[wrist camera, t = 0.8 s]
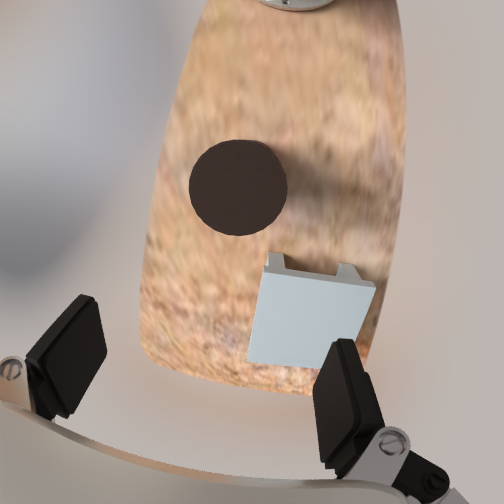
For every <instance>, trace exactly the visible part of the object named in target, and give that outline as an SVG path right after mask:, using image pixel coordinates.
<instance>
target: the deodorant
mask: <svg viewBox="0 0 504 504" xmlns="http://www.w3.org/2000/svg"><path fill="white" fill-rule="evenodd" d="M189 195H190V199H191V204H192V206H193V208H194V209H195V211H196V213H197V215H198V216H199V217H200V218H201V219H202V221H203V222H204V223H205V224H206V225H208V226H209V227H211V228H212V229H214V230H215V231H218V232H221V233H223V234H226V235H234V236H243V235H250V234H254V233H256V232H258V231H261V230H263V229H265V228H266V227H267V226H269V225H270V224H271V223H272V222H274V220H275V219H276V218H277V216H278V215H279V214H280V213H281V211H282V208H283V206H284V204H285V201H286V196H287V181H286V175H285V172H284V170H283V168H282V166H281V164H280V162H279V160H278V159H277V157H276V156H275V155H274V153H273V152H272V151H271V149H270V148H269V147H268V146H266V145H265V144H263V143H261V142H258V141H253V140H230V141H225V142H221V143H219V144H217V145H215V146H213V147H211V148H209V149H208V150H207V151H206V152H205V153H204V154H202V155H201V156H200V158H199V159H198V161H197V162H196V164H195V165H194V167H193V170H192V173H191V176H190V179H189Z"/></svg>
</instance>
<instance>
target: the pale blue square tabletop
mask: <svg viewBox="0 0 504 504" xmlns="http://www.w3.org/2000/svg"><path fill="white" fill-rule="evenodd" d="M375 290H376V286H375V285H374V283H373V282H372V281H367V280H362V279H361V277H360V275H359V274H358V272H357V271H356V269H355V267H354V266H353V264H347V263H340V262H339V266H338V269H337V273H336V276H332V275H325V274H318V273H311V272H304V271H298V270H291V269H285V263H284V256H283V253H276V252H270V251H268V256H267V261H266V266H264V268H263V273H262V278H261V284H260V289H259V295H258V300H257V305H256V311H255V316H254V321H253V327H252V332H251V337H250V342H249V348H248V353H247V361H249V362H257V363H265V364H274V365H283V366H293V367H305V368H319V369H321V368H322V365H323V363H324V361H325V358H326V356H327V353H328V351H329V349H330V346H331V344H332V342H333V341H337V339H338V338H347V339H353V340H354V342H355V340H356V338H357V336H358V333H359V331H360V329H361V326H362V324H363V321H364V319H365V316H366V314H367V311H368V309H369V306H370V304H371V301H372V298H373V296H374V293H375Z"/></svg>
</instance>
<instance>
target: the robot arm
mask: <svg viewBox="0 0 504 504" xmlns="http://www.w3.org/2000/svg"><path fill="white" fill-rule="evenodd" d="M257 1H259V2H261V3H263V4H265V5H267V6H271V7H274V8H277V9H283V10H291V11H305V10H312V9H317V8H320V7H323V6H326V5H327V4H329V3H331V2H332V1H333V0H257ZM285 4H287V5H285ZM106 355H107V347H106V343H105V338H104V333H103V329H102V324H101V319H100V314H99V309H98V303H97V302H96V301H95V299H94V298H93V297H90V296H87V295H83V294H80V295H79V296H78V297H77V298H76V299H75V300H74V301H73V302H72V303H71V304H70V306H69V307H68V308H67V309H66V310H65V311H64V312H63V313H62V314H61V315H60V316H59V317H58V318H57V320H56V321H55V322H54V323H53V324H52V325H51V326H50V327H49V329H48V330H47V331H46V332H45V333H44V334H43V336H42V337H41V338H40V339H39V341H37V343H36V344H35V345H34V346H33V348H32V349H31V350H30V351H29V352H28V354H27V355H26V359H25V361H24V360H23V359H21V358H20V357H18V356H9V357H6V358H4V359H3V360H1V362H0V504H469V503H468V502H467V501H466V500H465V499H464V498H463V496H462V495H461V494H460V493H459V492H458V491H457V490H456V489H455V488H452V489H450V488H449V485H450V481H449V477H448V475H447V473H446V472H445V471H444V470H443V469H441V468H440V467H438V466H436V465H435V464H433V463H431V462H429V461H428V460H426V459H424V458H422V457H421V456H419V455H417V454H416V453H414V452H412V451H411V450H410V440H409V437H408V436H407V434H406V433H405V432H404V431H402V430H401V429H399V428H396V427H385V423H384V420H383V417H382V413H381V411H380V407H379V404H378V401H377V397H376V394H375V391H374V388H373V385H372V382H371V379H370V376H369V374H368V373H367V372H364V369H363V366H362V363H361V360H360V357H359V354H358V351H357V348H356V345H355V342H354V340H353V339H347V338H338V339H337V341H333V342H332V344H331V346H330V349H329V351H328V353H327V356H326V358H325V361H324V363H323V365H322V368H321V370H320V372H319V374H318V377H317V379H316V381H315V383H314V386H313V401H314V408H315V417H316V425H317V434H318V442H319V452H320V460H321V462H322V463H325V469H335V474H336V475H337V476H336V477H335V478H334V479H328V480H325V479H324V480H323V479H322V480H321V479H320V480H289V479H264V478H252V477H241V476H232V475H224V474H218V473H211V472H205V471H199V470H194V469H189V468H184V467H178V466H175V465H170V464H166V463H162V462H158V461H154V460H151V459H147V458H144V457H140V456H137V455H134V454H130V453H127V452H124V451H121V450H118V449H115V448H113V447H110V446H107V445H104V444H102V443H99V442H96V441H94V440H91V439H89V438H87V437H84V436H82V435H79V434H77V433H75V432H72V431H70V430H68V429H66V428H63V427H62V426H59V425H57V424H56V423H55V419H54V418H55V416H56V414H57V415H59V416H61V417H63V418H65V419H68V417H69V415H70V414H73V413H74V412H75V410H76V408H77V407H78V405H79V403H80V401H81V399H82V398H83V396H84V394H85V392H86V390H87V389H88V387H89V385H90V383H91V382H92V380H93V378H94V376H95V375H96V373H97V371H98V370H99V368H100V366H101V364H102V363H103V361H104V359H105V358H106Z"/></svg>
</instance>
